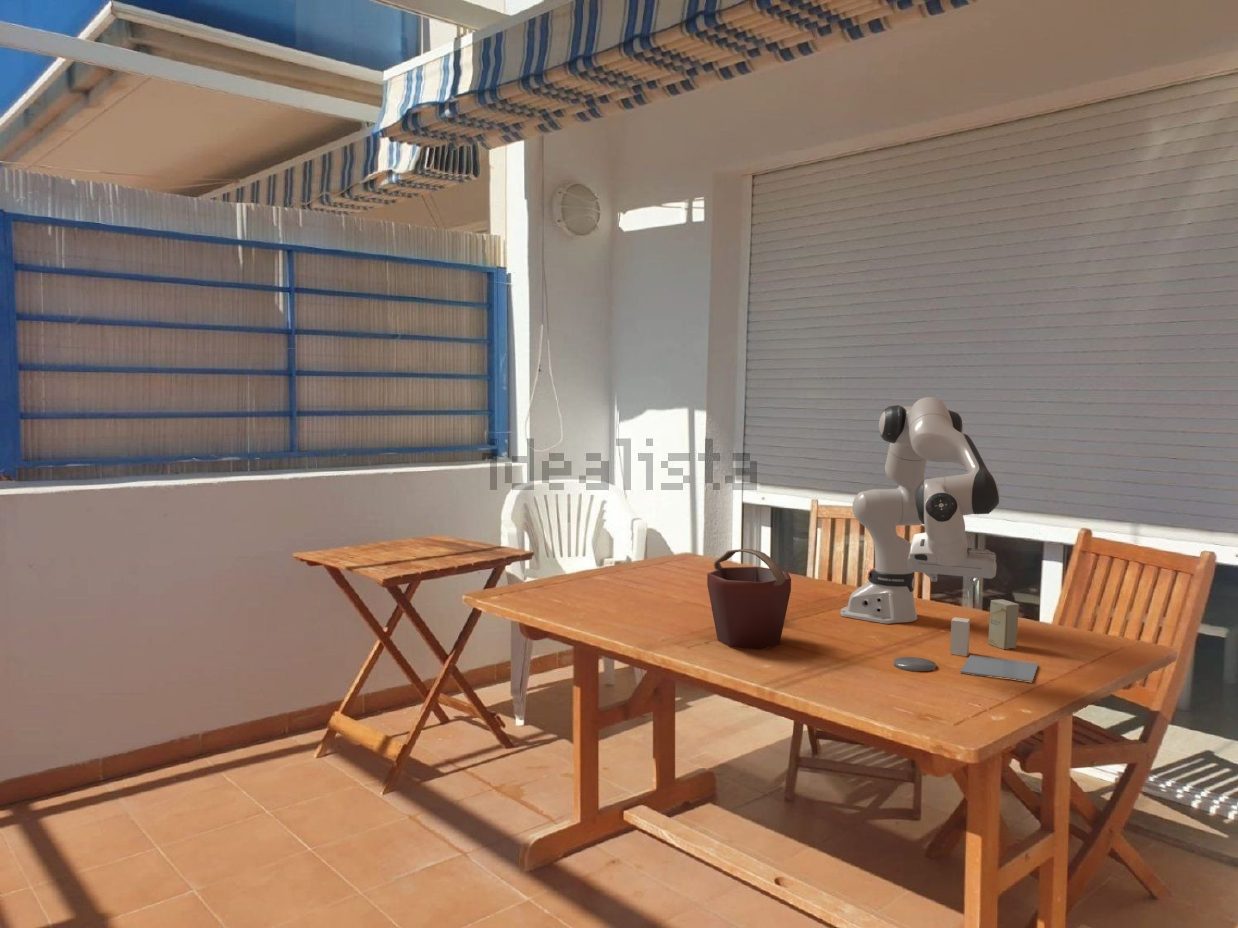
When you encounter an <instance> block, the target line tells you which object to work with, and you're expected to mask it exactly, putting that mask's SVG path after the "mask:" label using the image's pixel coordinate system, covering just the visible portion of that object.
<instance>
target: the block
mask: <svg viewBox="0 0 1238 928" xmlns="http://www.w3.org/2000/svg"><path fill="white" fill-rule="evenodd" d="M970 624H971V618H964V617H956V616H955V617H954V616H953V617H952V619H951V621H950V650H949V653H950V654H955V655H954V656H958V655H961V656H960V657H965V656H966V657H968V655H969V653H970V630H971V627H970V626H971V625H970ZM950 654H949V655H950ZM967 654H968V655H967Z"/></svg>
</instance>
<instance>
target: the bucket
mask: <svg viewBox="0 0 1238 928" xmlns="http://www.w3.org/2000/svg"><path fill="white" fill-rule="evenodd" d="M741 552H742V553H747V554H751V555H754V556H755V557H757V558H759V560H761V561H762V562H763V563H764V564H765V565H766V566H767V567H763V566H739V567H737V566H735V567H733V566H730V567H727V566H726V567H725V566H724V567H723V566H722V565H721V563H723V562H726V561H728V560H729V559H730V558H732V557H733V556H734V555H735V554H736V553H741ZM713 566H714V567H713V568H714V569H715V570H713V571H711V572H708V573H707V575H706V576H707V577H706V579H707V582H706V585H707V591H708V595H709V600H710V602H709V603H710V606H711V613H712V617H713V622H714V628H715V633H716V639H717V641H718V642H719V643H721V644H723V645H724V646H727V647H729V648H732V649H741V648H742V649H741V650H752V651H753V650H754V651H761V650H766V649H771V648H775V647H780V644H781V641H782V640H781V639H782V635H783V630H784V625H785V620H786V615H787V611H788V606H789V600H790V596H791V591H792V578H791V576H790V573H789V571H786V570H782V569H781V567H780V566H779V564H778V563H777V562H775V560H774V559H772V558H771V557H770V556H769V555H768V554H766V553H765V552H762V551H760V550H757V549H752V548H740V549H730V550H727V551H726V552H724V554H722V555H721V556H719V558H717V559H716V560H715V561H714V563H713ZM765 648H766V649H765Z"/></svg>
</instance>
